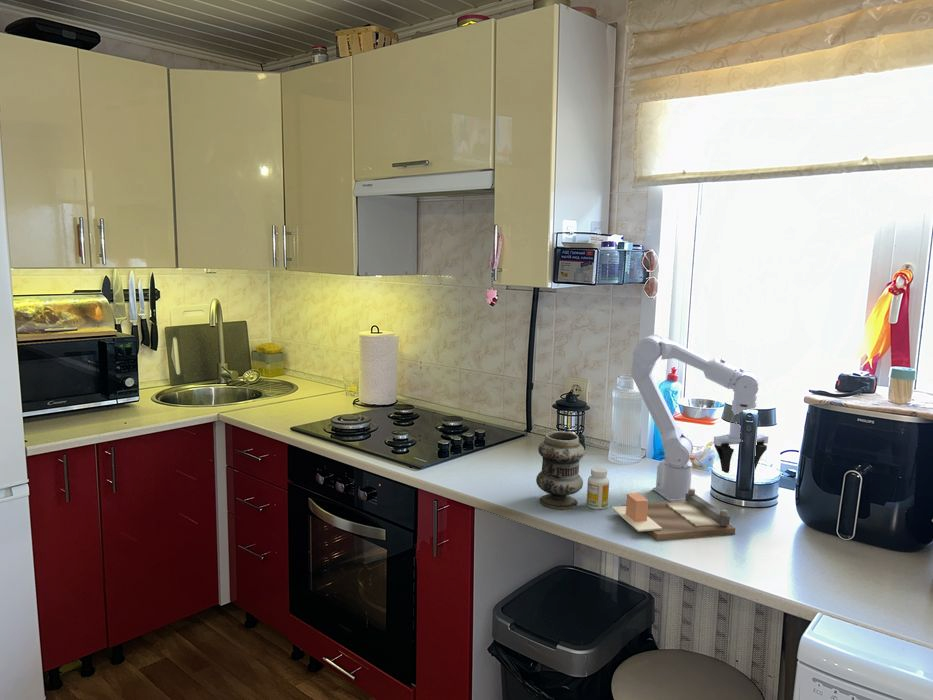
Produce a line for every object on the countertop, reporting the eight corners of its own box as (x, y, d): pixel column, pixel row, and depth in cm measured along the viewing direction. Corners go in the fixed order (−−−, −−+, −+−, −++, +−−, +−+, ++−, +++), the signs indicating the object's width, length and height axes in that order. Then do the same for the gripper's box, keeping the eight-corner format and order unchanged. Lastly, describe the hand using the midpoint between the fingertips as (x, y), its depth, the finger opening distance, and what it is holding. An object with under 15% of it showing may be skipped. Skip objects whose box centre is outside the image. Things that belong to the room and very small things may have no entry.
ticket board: (621, 510, 173) (623, 491, 172) (693, 505, 177) (694, 486, 176) (657, 540, 155) (658, 519, 155) (734, 534, 160) (736, 513, 159)
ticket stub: (611, 508, 170) (613, 487, 169) (634, 506, 171) (635, 486, 170) (638, 531, 156) (639, 509, 155) (662, 529, 158) (663, 507, 157)
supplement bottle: (605, 502, 178) (607, 466, 177) (610, 510, 173) (612, 473, 171) (584, 501, 178) (586, 466, 177) (588, 509, 173) (590, 472, 171)
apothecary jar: (570, 515, 169) (573, 444, 166) (527, 504, 175) (529, 436, 173) (589, 500, 179) (592, 433, 176) (547, 490, 185) (550, 426, 183)
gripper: (726, 424, 169) (722, 477, 171) (777, 422, 172) (772, 474, 174) (710, 417, 176) (706, 468, 178) (760, 415, 179) (755, 465, 181)
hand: (738, 470), depth 176 cm, fingers open, 7 cm apart
